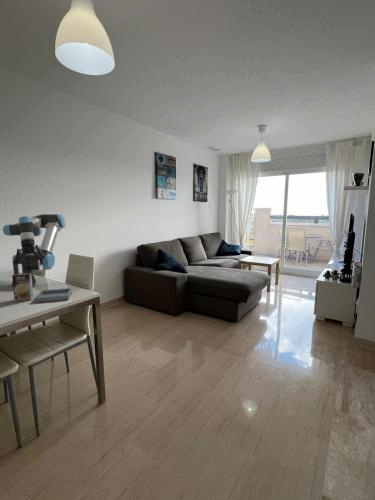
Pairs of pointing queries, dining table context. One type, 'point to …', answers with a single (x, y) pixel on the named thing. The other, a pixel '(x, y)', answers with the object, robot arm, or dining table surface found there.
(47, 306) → the dining table surface
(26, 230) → the robot arm
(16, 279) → the coffee box
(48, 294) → the tray
